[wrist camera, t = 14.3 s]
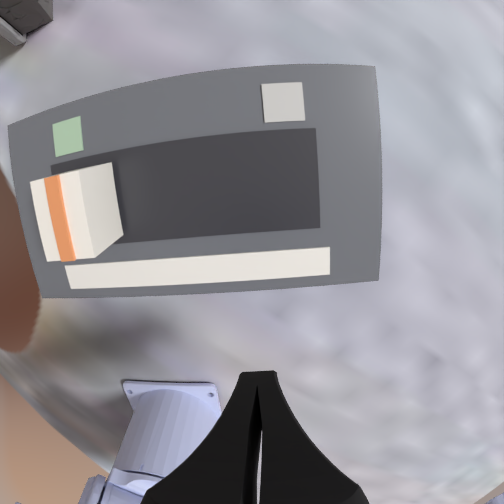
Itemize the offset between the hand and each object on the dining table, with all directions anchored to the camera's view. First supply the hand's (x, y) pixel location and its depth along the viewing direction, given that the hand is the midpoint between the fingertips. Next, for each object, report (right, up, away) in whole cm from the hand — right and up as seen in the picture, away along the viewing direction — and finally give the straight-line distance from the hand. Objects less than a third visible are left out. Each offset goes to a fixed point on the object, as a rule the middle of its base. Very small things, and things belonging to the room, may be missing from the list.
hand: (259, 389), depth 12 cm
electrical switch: (-16, +25, +2) cm, 29 cm away
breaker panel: (-4, +9, +7) cm, 12 cm away
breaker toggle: (-9, +8, +4) cm, 13 cm away
